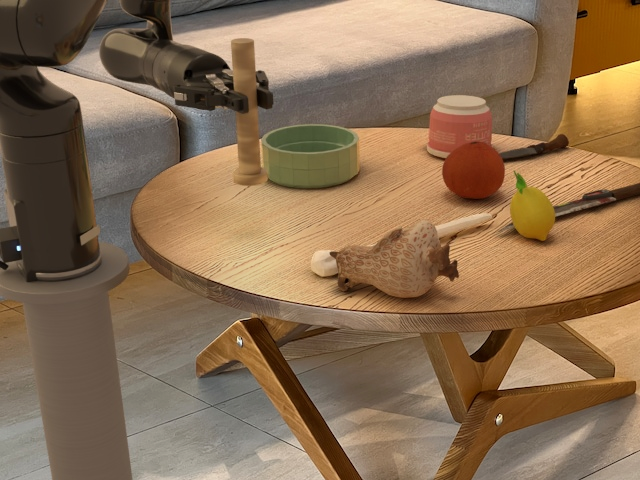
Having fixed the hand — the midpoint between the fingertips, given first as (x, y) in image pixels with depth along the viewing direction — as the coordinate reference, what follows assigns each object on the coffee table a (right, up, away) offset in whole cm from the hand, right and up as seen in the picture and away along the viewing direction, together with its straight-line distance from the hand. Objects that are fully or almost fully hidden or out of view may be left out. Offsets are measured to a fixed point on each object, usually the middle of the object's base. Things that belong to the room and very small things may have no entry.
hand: (257, 103), depth 135 cm
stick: (-2, -9, +7) cm, 11 cm away
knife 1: (+36, 0, +40) cm, 54 cm away
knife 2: (+29, -15, +8) cm, 34 cm away
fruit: (+28, -10, +21) cm, 36 cm away
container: (+27, +7, +36) cm, 46 cm away
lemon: (+36, -17, +6) cm, 40 cm away
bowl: (+4, -5, +30) cm, 31 cm away
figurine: (+24, -20, -11) cm, 33 cm away
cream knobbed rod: (+18, -18, +5) cm, 26 cm away
